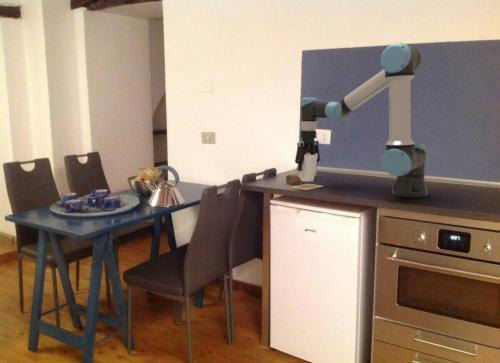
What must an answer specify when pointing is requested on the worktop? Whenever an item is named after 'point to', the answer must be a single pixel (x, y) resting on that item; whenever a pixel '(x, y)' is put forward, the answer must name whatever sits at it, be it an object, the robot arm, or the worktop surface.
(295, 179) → the block
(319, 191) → the worktop surface
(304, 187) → the envelope
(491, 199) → the worktop surface
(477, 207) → the worktop surface
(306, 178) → the foam cup
